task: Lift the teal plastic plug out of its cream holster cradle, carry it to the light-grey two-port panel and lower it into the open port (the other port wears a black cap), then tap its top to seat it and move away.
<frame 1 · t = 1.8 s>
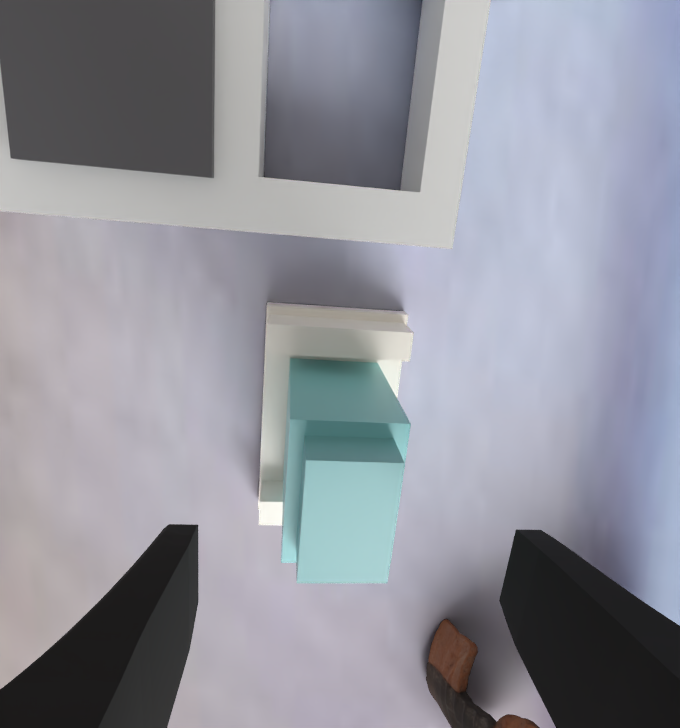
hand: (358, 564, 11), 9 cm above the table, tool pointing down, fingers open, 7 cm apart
holster: (328, 410, 19), on the table
brown jagged curved sculpture: (510, 663, 25), on the table
plug: (329, 417, 18), point 1 cm above the table, touching holster
panel: (244, 80, 15), on the table
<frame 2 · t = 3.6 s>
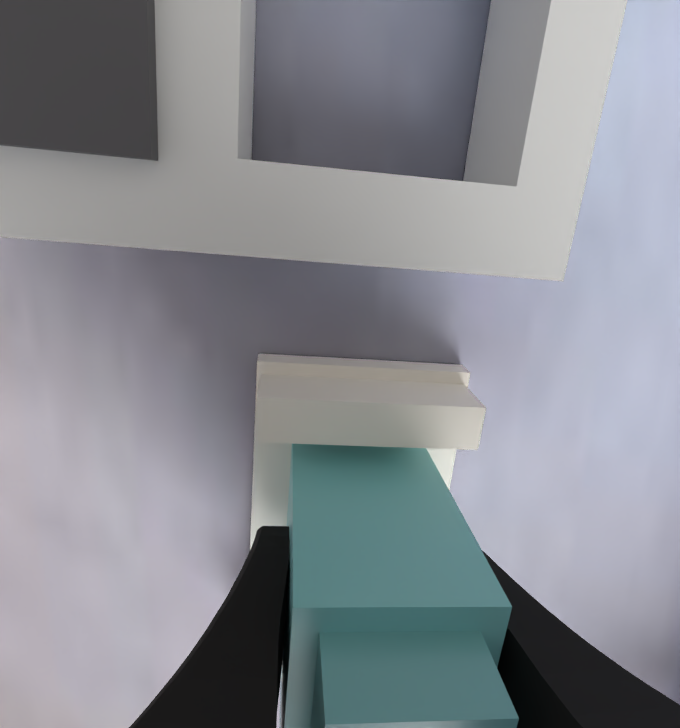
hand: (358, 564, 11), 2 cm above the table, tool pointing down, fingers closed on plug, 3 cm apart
holster: (347, 504, 13), on the table
plug: (349, 518, 13), point 1 cm above the table, touching gripper, holster
panel: (218, 5, 9), on the table
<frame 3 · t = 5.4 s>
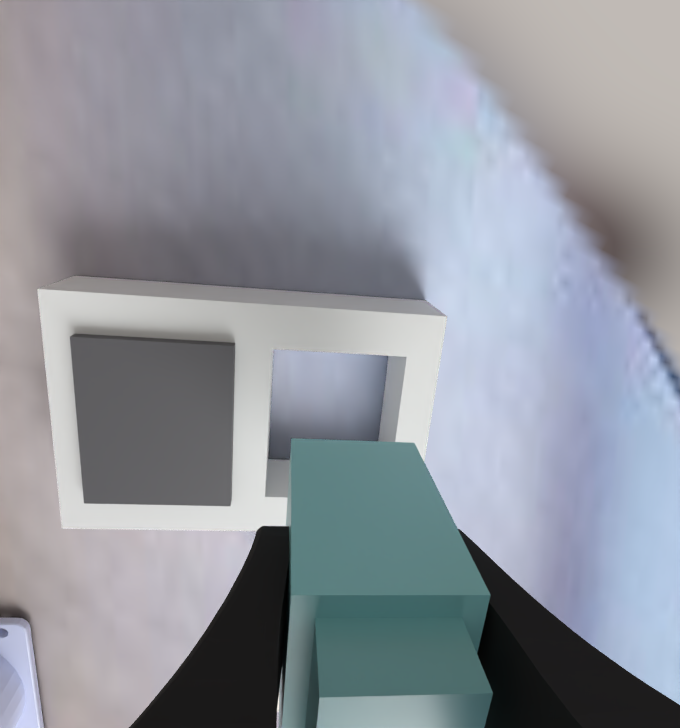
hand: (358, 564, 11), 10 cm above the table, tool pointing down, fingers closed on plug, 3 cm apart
plug: (345, 514, 13), point 7 cm above the table, touching gripper
panel: (253, 395, 20), on the table
when the fingers open (3 cm above the table, at t = 7.2 s): plug drops 1 cm, resting in panel.
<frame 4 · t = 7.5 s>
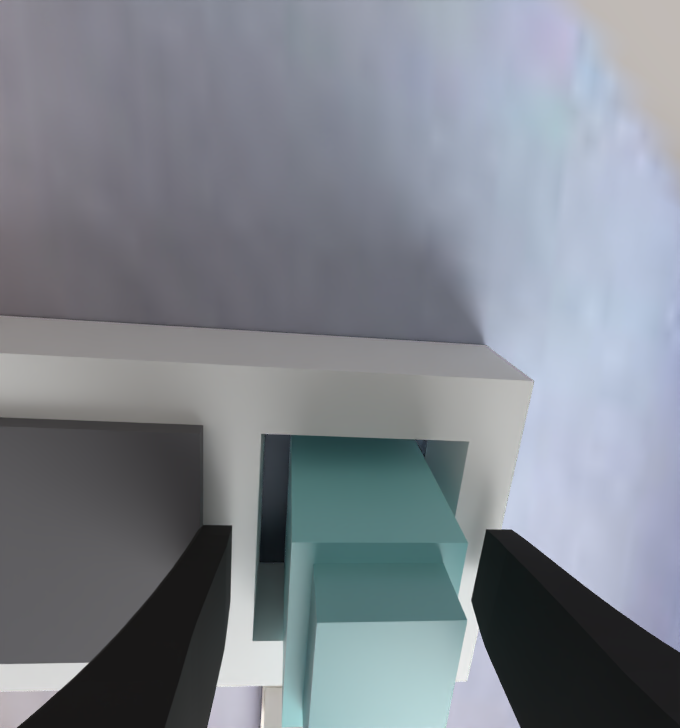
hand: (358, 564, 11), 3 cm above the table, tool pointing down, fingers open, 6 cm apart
plug: (342, 489, 14), resting in panel
panel: (238, 479, 14), on the table
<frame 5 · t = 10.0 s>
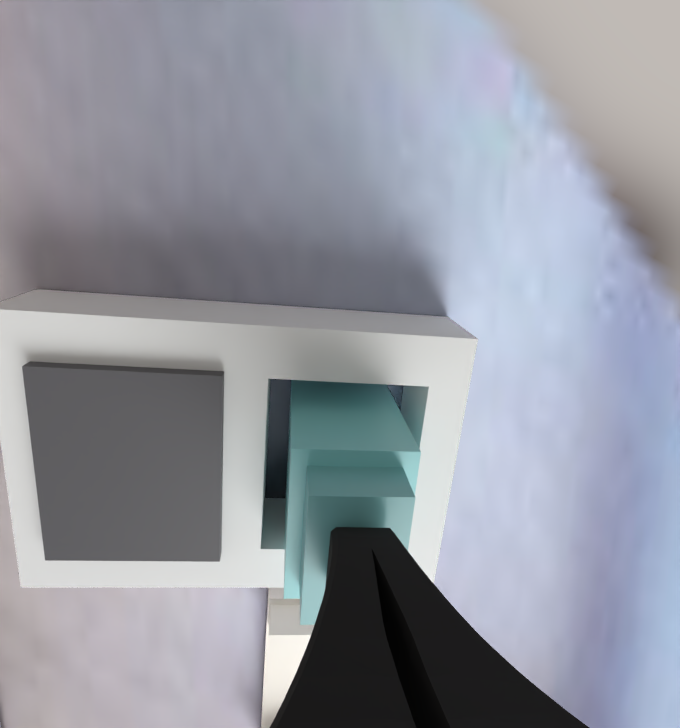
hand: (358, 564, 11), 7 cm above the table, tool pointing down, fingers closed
holster: (323, 664, 21), on the table
plug: (333, 436, 18), resting in panel
panel: (248, 426, 17), on the table
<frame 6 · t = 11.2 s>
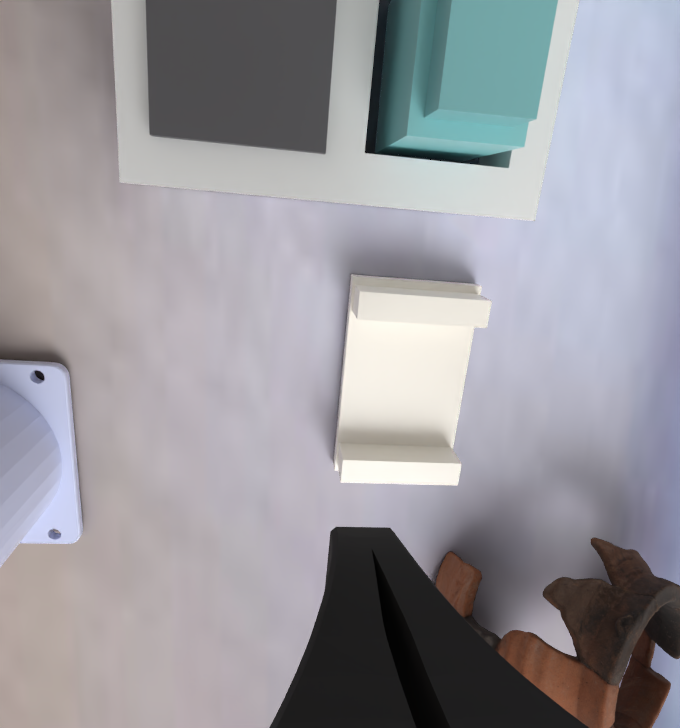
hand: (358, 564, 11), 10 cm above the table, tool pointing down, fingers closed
holster: (401, 377, 20), on the table
brown jagged curved sculpture: (516, 597, 25), on the table
plug: (426, 88, 17), resting in panel
panel: (341, 67, 17), on the table
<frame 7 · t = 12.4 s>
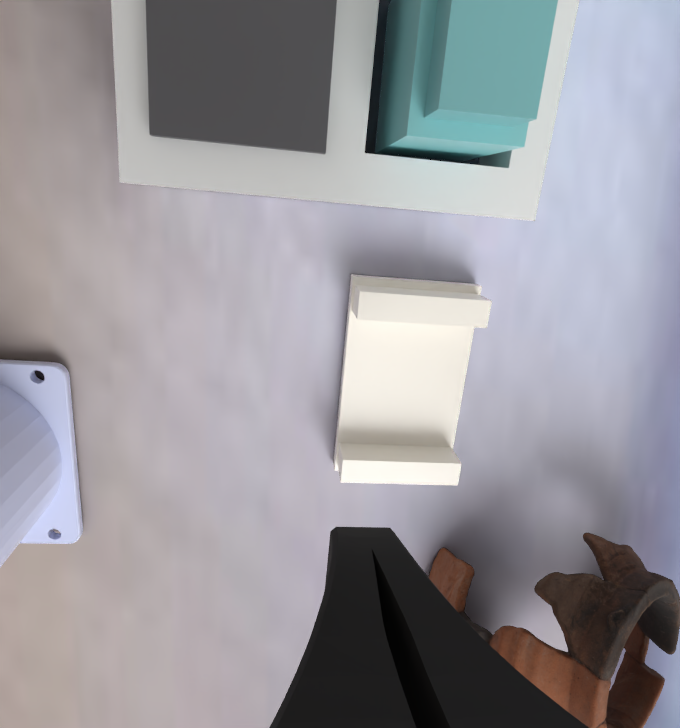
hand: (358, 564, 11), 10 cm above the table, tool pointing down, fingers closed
holster: (401, 377, 20), on the table
brown jagged curved sculpture: (510, 593, 25), on the table
plug: (426, 88, 17), resting in panel
panel: (341, 67, 17), on the table
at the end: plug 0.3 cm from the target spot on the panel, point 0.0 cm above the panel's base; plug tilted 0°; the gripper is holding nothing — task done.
